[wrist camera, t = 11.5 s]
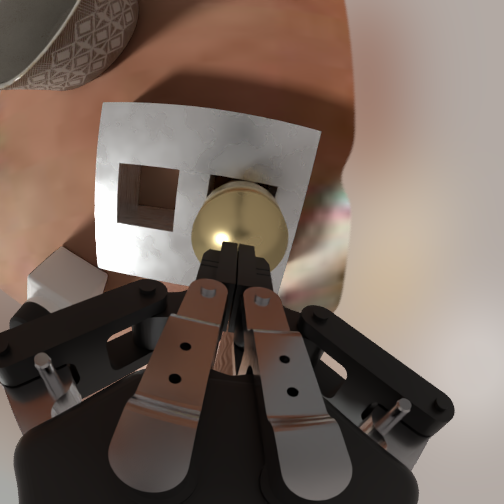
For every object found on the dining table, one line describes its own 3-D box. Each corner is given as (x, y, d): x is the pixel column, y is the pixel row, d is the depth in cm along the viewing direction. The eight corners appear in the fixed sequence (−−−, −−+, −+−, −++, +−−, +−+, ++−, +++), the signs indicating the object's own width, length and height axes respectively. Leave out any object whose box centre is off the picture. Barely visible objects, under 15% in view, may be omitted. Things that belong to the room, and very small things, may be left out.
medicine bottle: (61, 244, 25) (-2, 303, 15) (109, 273, 27) (57, 347, 16) (55, 287, 28) (6, 347, 17) (97, 313, 30) (57, 383, 19)
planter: (169, 1, 15) (131, -51, 6) (93, 109, 20) (20, 112, 10) (87, -21, 12) (37, -52, 2) (27, 72, 16) (-38, 72, 7)
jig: (128, 105, 20) (103, 102, 15) (306, 130, 21) (321, 131, 17) (118, 244, 26) (98, 267, 21) (271, 270, 27) (275, 299, 23)
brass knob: (217, 161, 23) (197, 184, 14) (277, 172, 23) (299, 203, 14) (207, 218, 25) (187, 273, 16) (264, 228, 25) (275, 288, 16)
